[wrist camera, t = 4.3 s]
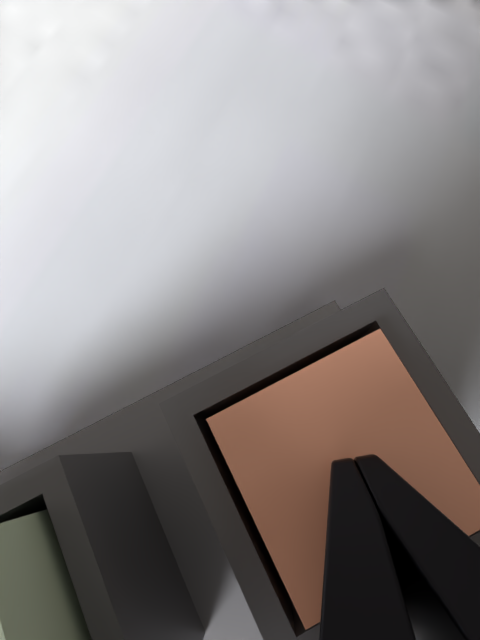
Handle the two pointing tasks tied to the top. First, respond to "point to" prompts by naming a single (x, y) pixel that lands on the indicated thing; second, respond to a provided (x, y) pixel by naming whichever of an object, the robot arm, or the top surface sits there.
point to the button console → (196, 491)
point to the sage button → (36, 584)
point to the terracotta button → (335, 454)
